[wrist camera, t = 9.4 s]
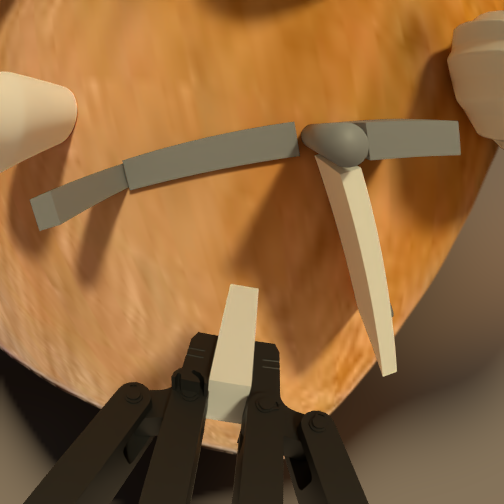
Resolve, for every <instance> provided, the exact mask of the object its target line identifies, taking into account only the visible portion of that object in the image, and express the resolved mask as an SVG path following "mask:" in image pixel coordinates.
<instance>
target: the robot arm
mask: <svg viewBox="0 0 504 504" xmlns="http://www.w3.org/2000/svg"><path fill="white" fill-rule="evenodd" d="M258 291H259V289H258V288H252V287H246V286H240V285H234V284H230V288H229V293H228V297H227V301H226V306H225V310H224V314H223V319H222V323H221V328H220V332H219V336H216V335H211V334H205V333H200V332H198V333H197V334H196V335H195V336H194V337H193V338H192V339H191V342H190V345H189V349H188V351H187V355H186V357H185V361H184V364H183V367H182V368H180V369H178V370H176V371H175V372H174V373H173V375H172V376H171V378H172V387H170V388H168V389H164V390H149V389H148V388H147V387H146V386H144V385H143V384H140V383H137V382H130V383H127V384H124V385H123V386H121V387H120V388H119V389H118V390H117V391H116V393H115V394H114V395H113V396H112V397H111V398H110V400H109V401H108V402H107V403H106V404H105V406H104V407H103V408H102V409H101V410H100V412H99V413H98V414H97V415H96V416H95V418H94V419H93V420H92V421H91V422H90V423H89V425H88V426H87V427H86V428H85V429H84V431H83V432H82V433H81V434H80V435H79V436H78V438H77V439H76V440H75V441H74V442H73V444H72V445H71V446H70V447H69V449H68V450H67V451H66V452H65V453H64V454H63V456H62V457H61V458H60V459H59V460H58V462H57V463H56V464H55V465H54V467H53V468H52V469H51V470H50V471H49V473H48V474H47V475H46V477H44V479H43V480H42V481H41V482H40V484H39V485H38V486H37V487H36V488H35V490H34V491H33V492H32V493H31V495H30V496H29V497H28V498H27V500H26V501H25V502H24V503H23V504H110V502H111V501H112V499H113V498H114V496H115V495H116V493H117V492H118V490H119V489H120V487H121V486H122V485H123V483H124V482H125V480H126V479H127V477H128V476H129V474H130V473H131V471H132V470H133V468H134V467H135V465H136V464H137V462H138V461H139V459H140V458H141V456H142V455H143V453H144V452H145V450H146V449H147V447H148V446H149V444H150V443H151V441H152V440H153V438H154V437H155V436H158V438H157V441H156V444H155V448H154V452H153V455H152V458H151V462H150V465H149V468H148V473H147V476H146V479H145V483H144V486H143V490H142V494H141V498H140V501H139V504H190V503H191V498H192V492H193V486H194V481H195V476H196V470H197V465H198V460H199V454H200V449H201V444H202V439H203V433H204V426H205V420H206V418H208V419H213V420H219V421H225V422H232V423H239V424H241V423H242V424H241V431H240V434H239V438H238V441H237V443H238V452H237V462H236V470H235V479H234V489H233V497H232V504H283V455H284V456H285V460H286V463H287V467H288V470H289V473H290V477H291V480H292V483H293V487H294V490H295V493H296V496H297V500H298V503H299V504H368V501H367V499H366V496H365V494H364V491H363V489H362V487H361V485H360V482H359V480H358V477H357V475H356V473H355V470H354V468H353V466H352V463H351V461H350V458H349V456H348V454H347V451H346V449H345V447H344V444H343V442H342V439H341V437H340V435H339V433H338V430H337V428H336V425H335V423H334V421H333V420H332V418H331V417H330V416H329V415H328V414H326V413H324V412H321V411H311V412H308V413H306V414H302V413H299V412H296V411H294V410H291V409H289V408H288V407H287V406H285V404H284V403H283V402H282V400H281V398H280V370H279V368H280V363H279V351H278V349H277V347H276V345H275V344H271V343H264V342H257V341H255V332H256V319H257V305H258Z"/></svg>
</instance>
